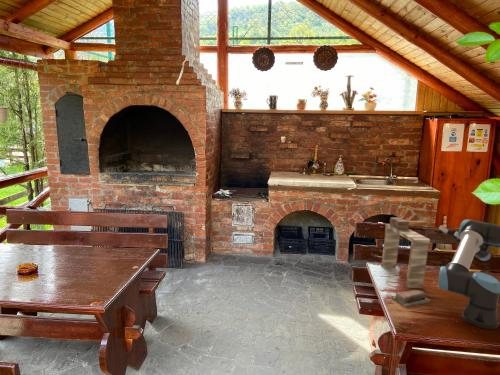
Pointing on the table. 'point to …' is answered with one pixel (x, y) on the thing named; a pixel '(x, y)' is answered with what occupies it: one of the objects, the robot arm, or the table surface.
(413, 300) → the packaged product
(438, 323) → the table surface
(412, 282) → the frame
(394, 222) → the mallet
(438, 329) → the table surface
